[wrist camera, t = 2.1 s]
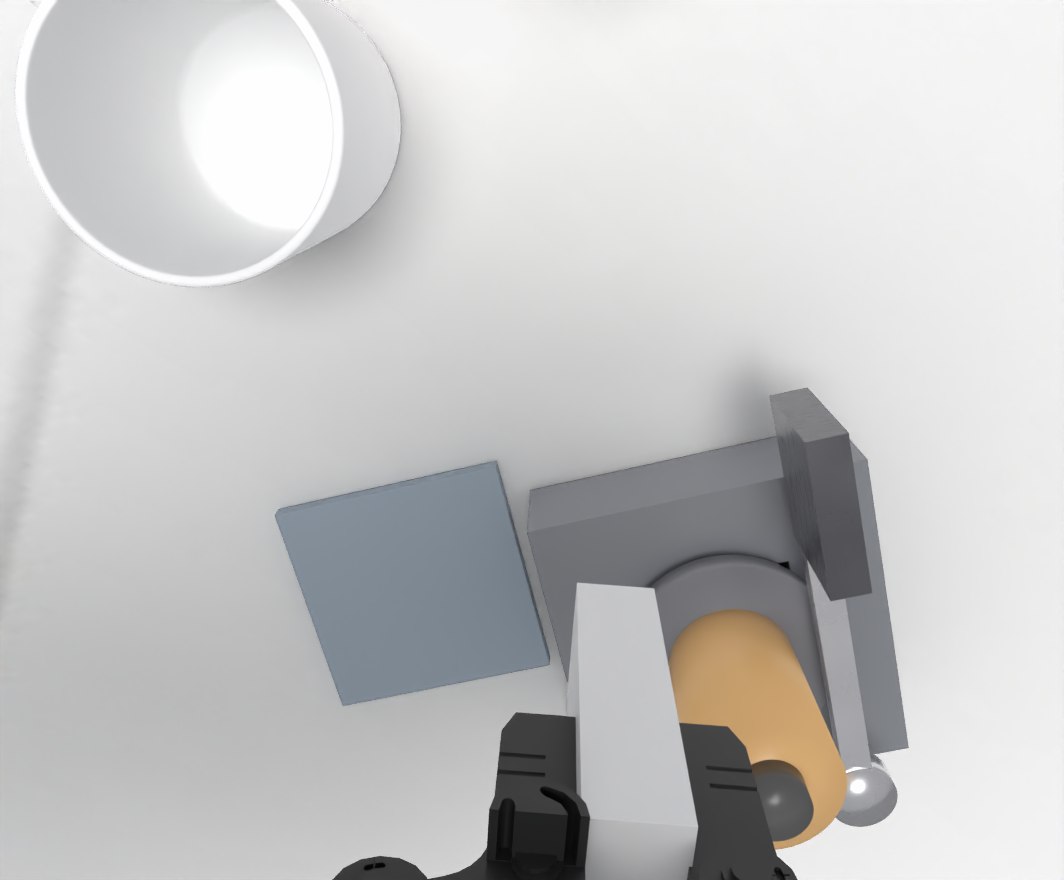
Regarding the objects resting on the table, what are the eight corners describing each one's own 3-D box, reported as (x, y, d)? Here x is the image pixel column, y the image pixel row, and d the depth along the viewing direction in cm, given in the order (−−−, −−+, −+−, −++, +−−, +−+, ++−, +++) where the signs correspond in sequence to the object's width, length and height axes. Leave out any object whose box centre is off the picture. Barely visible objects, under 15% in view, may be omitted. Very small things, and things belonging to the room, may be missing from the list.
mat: (345, 697, 41) (343, 705, 40) (278, 509, 38) (274, 515, 38) (549, 657, 40) (549, 664, 40) (496, 460, 37) (495, 466, 37)
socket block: (596, 741, 41) (601, 825, 36) (530, 490, 38) (525, 546, 33) (875, 688, 40) (919, 768, 35) (835, 423, 36) (878, 471, 32)
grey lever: (824, 806, 36) (861, 903, 31) (751, 400, 31) (782, 447, 26) (889, 795, 35) (935, 891, 31) (826, 383, 30) (870, 428, 26)
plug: (636, 688, 40) (669, 938, 28) (596, 528, 38) (615, 724, 26) (815, 653, 40) (930, 894, 27) (786, 487, 37) (898, 670, 25)
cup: (308, 287, 35) (214, 351, 26) (35, 53, 33) (-180, 27, 23) (453, 112, 33) (411, 110, 24) (173, -152, 31) (-1, -272, 21)
